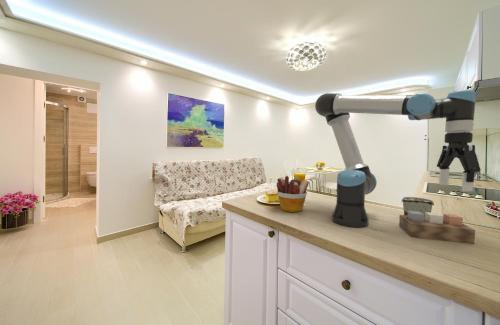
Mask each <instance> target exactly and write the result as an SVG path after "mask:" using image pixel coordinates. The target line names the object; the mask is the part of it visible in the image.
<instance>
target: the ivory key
mask: <svg viewBox="0 0 500 325" xmlns="http://www.w3.org/2000/svg"><path fill="white" fill-rule="evenodd" d="M425 221H427V222H428V223H436V224H443V214H442V215H441V214H440V213H438V212H431V213H430V212H425Z"/></svg>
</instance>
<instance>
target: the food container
mask: <svg viewBox="0 0 500 325" xmlns="http://www.w3.org/2000/svg"><path fill="white" fill-rule="evenodd" d="M401 202H402V206H403V208H402V209H403V215H408V211H417V212H421V213H422V214H424V217H425V212H430V213H432V210H433V206H435V203H434V201H433V200H431V199H428V198H422V197H415V196H414V197H413V196H405V197H402V199H401Z"/></svg>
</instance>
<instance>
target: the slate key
mask: <svg viewBox="0 0 500 325" xmlns="http://www.w3.org/2000/svg"><path fill="white" fill-rule="evenodd" d="M408 220H410V221H413V222H424V214H422V213H421V212H417V211H408Z"/></svg>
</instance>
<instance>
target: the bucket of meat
mask: <svg viewBox="0 0 500 325" xmlns="http://www.w3.org/2000/svg"><path fill="white" fill-rule="evenodd" d="M309 184H310V181H307V180H304V179H303V180H302V181H301V180H300V179H299V177H298V176H295V177H294V179H293V178H292V179H290V177H289V176H288V175H286V176H285V177H284V178H283V177H282V176H281V177H279V178H277V182H276V189H277V191H276V192H277V197H278V201H279V206H280V209H281V210H283V211H285V212H288V213H300V212H302V210H303V209H304V205H305V201H306V197H307V194H308V192H307V189H308V187H309Z"/></svg>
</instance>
